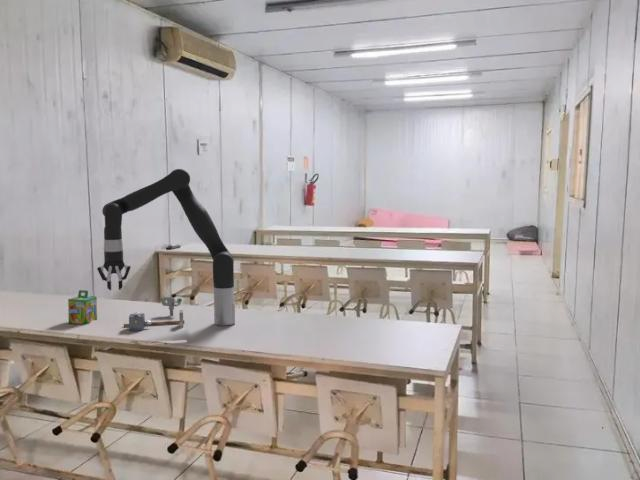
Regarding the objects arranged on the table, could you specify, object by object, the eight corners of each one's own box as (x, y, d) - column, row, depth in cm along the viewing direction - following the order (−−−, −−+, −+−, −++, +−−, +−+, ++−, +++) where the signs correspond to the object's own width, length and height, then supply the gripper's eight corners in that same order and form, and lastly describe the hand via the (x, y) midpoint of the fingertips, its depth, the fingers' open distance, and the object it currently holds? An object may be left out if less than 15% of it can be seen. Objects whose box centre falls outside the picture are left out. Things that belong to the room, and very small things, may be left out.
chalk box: (68, 323, 244) (66, 292, 242) (80, 319, 253) (79, 288, 251) (86, 324, 242) (84, 293, 241) (98, 319, 251) (96, 289, 250)
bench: (184, 325, 240) (184, 308, 240) (184, 331, 231) (184, 313, 230) (124, 329, 234) (123, 311, 233) (121, 335, 224) (120, 317, 224)
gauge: (152, 326, 235) (151, 310, 234) (150, 331, 227) (150, 315, 226) (130, 327, 233) (130, 311, 232) (128, 332, 225) (128, 316, 224)
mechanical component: (180, 319, 252) (179, 298, 251) (160, 318, 254) (159, 297, 253) (182, 317, 255) (182, 297, 254) (163, 316, 257) (162, 296, 256)
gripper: (131, 248, 230) (133, 287, 232) (97, 249, 227) (98, 288, 229) (130, 250, 223) (131, 290, 225) (94, 251, 220) (96, 292, 221)
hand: (115, 289), depth 227 cm, fingers open, 3 cm apart
